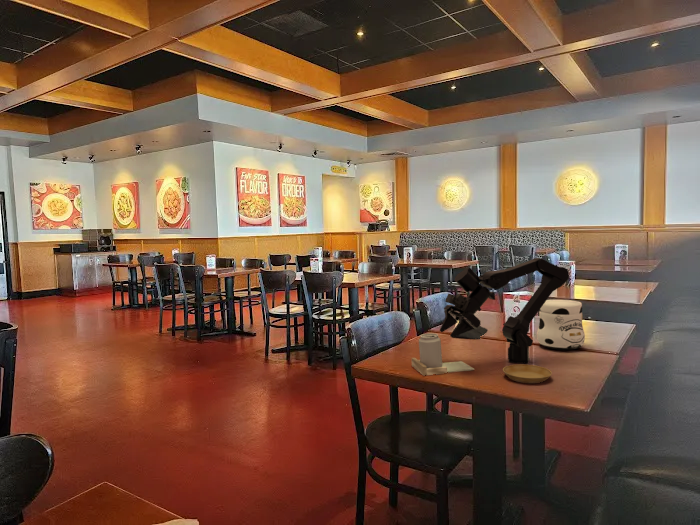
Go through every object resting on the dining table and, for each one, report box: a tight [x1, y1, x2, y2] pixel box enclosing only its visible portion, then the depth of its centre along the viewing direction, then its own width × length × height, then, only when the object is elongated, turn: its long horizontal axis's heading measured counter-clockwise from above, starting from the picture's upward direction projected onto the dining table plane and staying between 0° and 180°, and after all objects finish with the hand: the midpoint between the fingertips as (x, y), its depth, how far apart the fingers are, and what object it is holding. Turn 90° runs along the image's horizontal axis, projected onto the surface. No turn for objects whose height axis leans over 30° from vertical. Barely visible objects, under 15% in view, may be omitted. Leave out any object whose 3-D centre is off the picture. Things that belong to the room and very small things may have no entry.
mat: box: [442, 360, 475, 373], centre depth 170 cm, size 10×10×1 cm
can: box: [418, 332, 443, 368], centre depth 168 cm, size 8×8×12 cm
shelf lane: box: [411, 357, 448, 377], centre depth 168 cm, size 8×12×3 cm
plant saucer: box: [502, 363, 553, 384], centre depth 156 cm, size 15×15×3 cm
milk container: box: [536, 299, 586, 351], centre depth 192 cm, size 17×17×18 cm
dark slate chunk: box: [455, 325, 489, 340], centre depth 222 cm, size 15×22×5 cm
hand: (445, 334), depth 168 cm, fingers open, 9 cm apart
